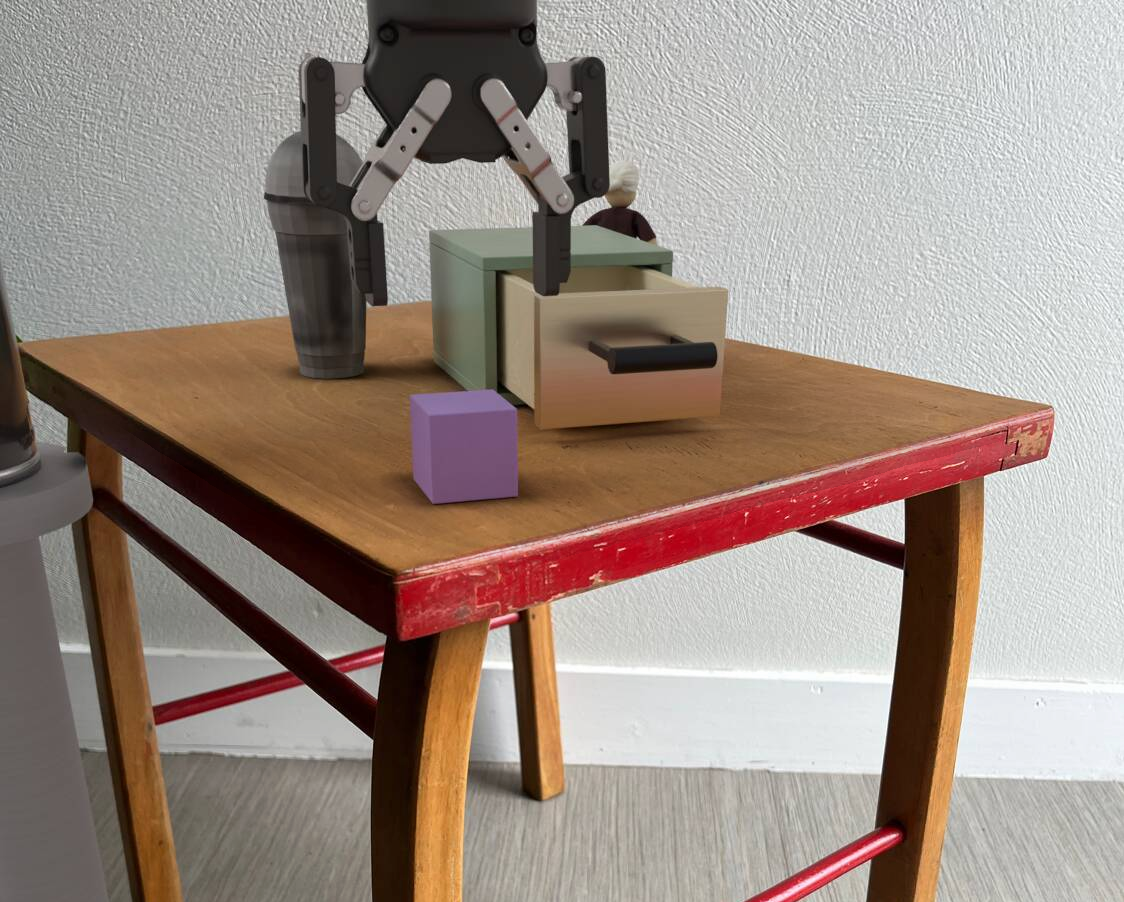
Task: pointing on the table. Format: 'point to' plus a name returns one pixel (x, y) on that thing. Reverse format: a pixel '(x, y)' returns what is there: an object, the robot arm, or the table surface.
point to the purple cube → (464, 446)
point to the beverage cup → (317, 265)
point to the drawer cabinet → (471, 289)
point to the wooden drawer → (611, 346)
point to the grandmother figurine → (623, 205)
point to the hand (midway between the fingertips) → (462, 299)
